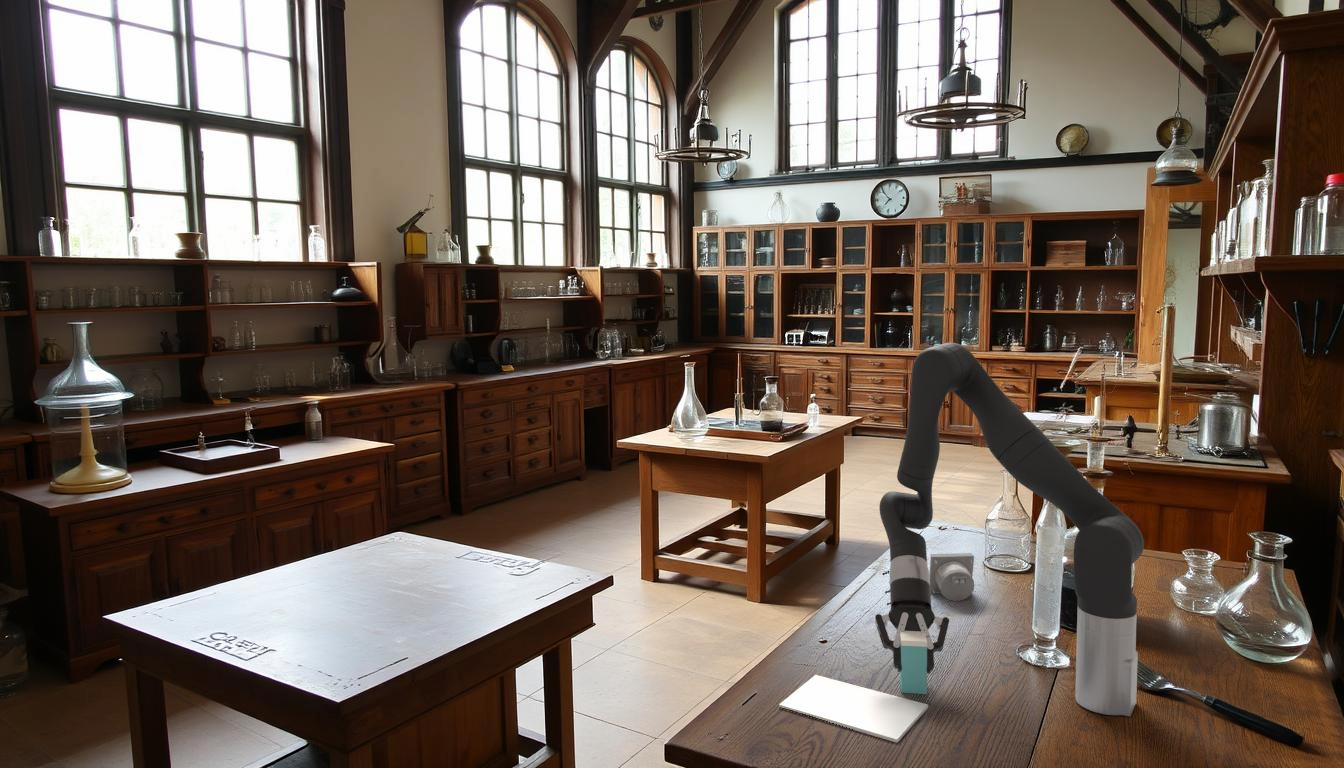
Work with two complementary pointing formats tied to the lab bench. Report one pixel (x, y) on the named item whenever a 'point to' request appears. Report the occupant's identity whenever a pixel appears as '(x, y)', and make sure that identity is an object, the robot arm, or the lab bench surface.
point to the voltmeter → (951, 575)
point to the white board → (856, 707)
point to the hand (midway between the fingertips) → (914, 670)
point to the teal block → (913, 662)
